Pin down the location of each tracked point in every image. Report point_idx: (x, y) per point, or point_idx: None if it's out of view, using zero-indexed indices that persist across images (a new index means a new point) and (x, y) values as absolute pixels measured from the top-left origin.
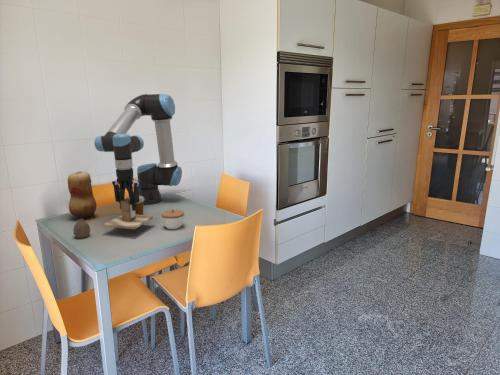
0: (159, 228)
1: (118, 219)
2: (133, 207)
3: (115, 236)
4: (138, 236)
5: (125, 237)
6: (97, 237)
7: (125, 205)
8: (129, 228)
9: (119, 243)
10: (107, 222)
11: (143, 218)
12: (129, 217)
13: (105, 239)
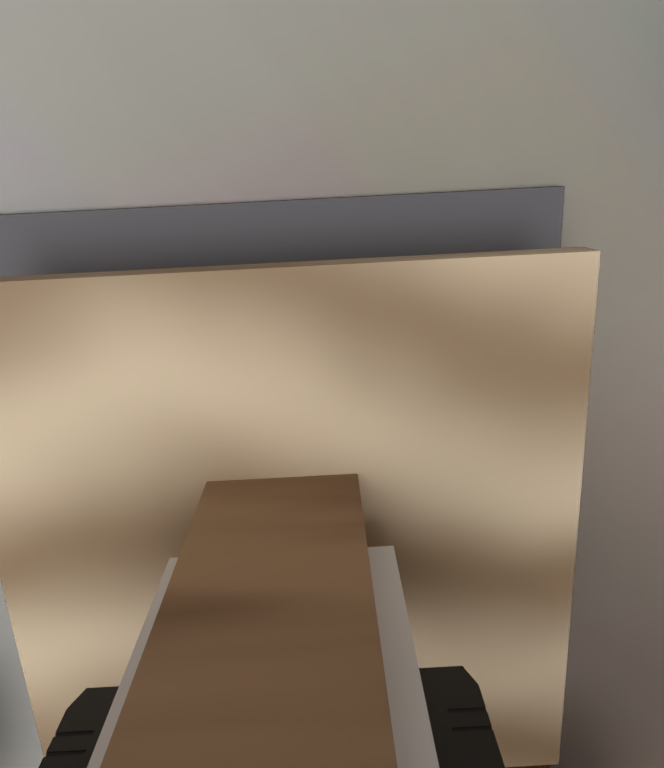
0: (12, 645)
1: (482, 520)
2: (64, 758)
3: (325, 209)
4: None
5: (158, 224)
6: (580, 113)
7: (215, 729)
8: (43, 275)
9: (95, 13)
10: (581, 337)
11: (114, 676)
12: (190, 529)
13: (411, 84)
